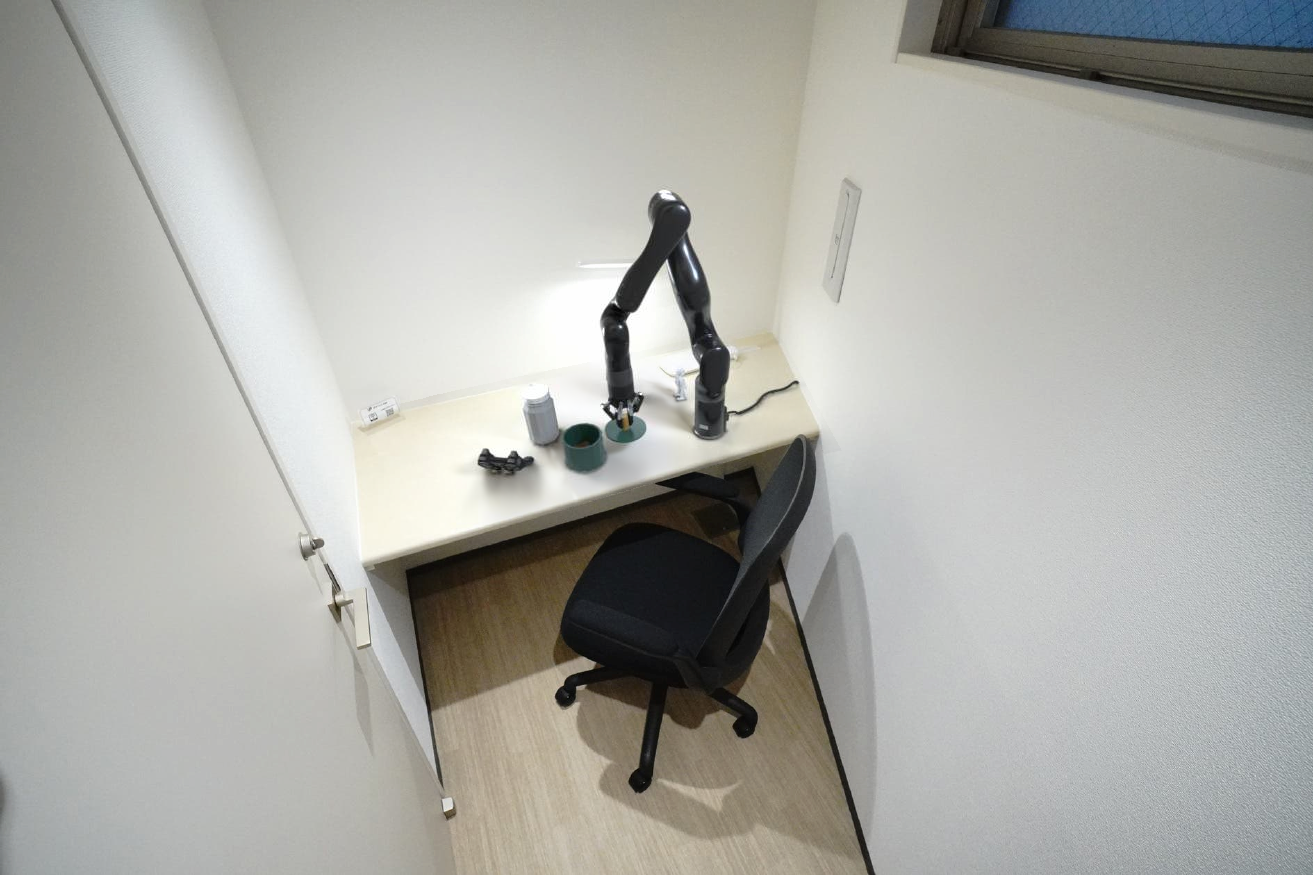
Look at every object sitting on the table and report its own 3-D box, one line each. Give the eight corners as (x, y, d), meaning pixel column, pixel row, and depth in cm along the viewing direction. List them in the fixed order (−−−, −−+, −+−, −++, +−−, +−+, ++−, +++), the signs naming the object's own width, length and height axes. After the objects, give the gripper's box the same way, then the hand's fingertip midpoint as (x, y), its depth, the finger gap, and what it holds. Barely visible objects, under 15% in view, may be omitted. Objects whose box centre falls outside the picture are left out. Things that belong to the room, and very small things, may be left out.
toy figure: (673, 392, 193) (672, 363, 186) (682, 391, 194) (682, 362, 186) (678, 402, 189) (678, 373, 181) (687, 401, 189) (687, 371, 182)
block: (589, 451, 171) (587, 440, 168) (594, 460, 168) (592, 449, 165) (575, 456, 170) (574, 445, 167) (580, 464, 167) (579, 454, 164)
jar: (566, 432, 179) (558, 386, 168) (547, 449, 173) (537, 404, 161) (543, 423, 183) (533, 378, 172) (523, 440, 177) (512, 394, 165)
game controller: (481, 475, 169) (467, 464, 160) (486, 454, 172) (473, 442, 162) (531, 479, 167) (520, 469, 158) (536, 458, 169) (525, 446, 160)
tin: (597, 442, 175) (593, 418, 169) (610, 464, 167) (607, 441, 161) (561, 453, 171) (556, 430, 165) (573, 477, 163) (569, 453, 157)
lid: (636, 413, 176) (635, 398, 172) (653, 436, 167) (652, 421, 163) (599, 425, 172) (596, 410, 168) (614, 449, 163) (612, 434, 159)
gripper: (601, 392, 152) (608, 439, 163) (647, 378, 156) (651, 425, 168) (592, 379, 157) (599, 425, 169) (637, 365, 161) (641, 412, 173)
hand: (625, 425), depth 168 cm, fingers closed on lid, 2 cm apart
